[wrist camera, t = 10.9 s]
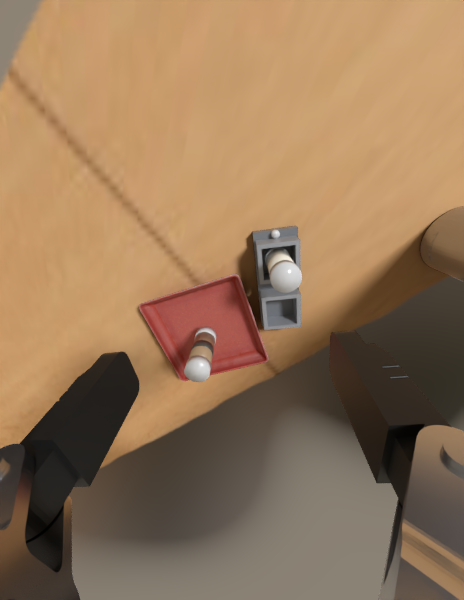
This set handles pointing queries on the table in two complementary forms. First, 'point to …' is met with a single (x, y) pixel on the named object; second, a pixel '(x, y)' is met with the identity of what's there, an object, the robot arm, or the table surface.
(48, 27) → the table surface
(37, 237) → the table surface
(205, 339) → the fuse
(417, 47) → the table surface
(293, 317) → the block
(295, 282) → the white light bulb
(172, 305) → the plant saucer
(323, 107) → the table surface
